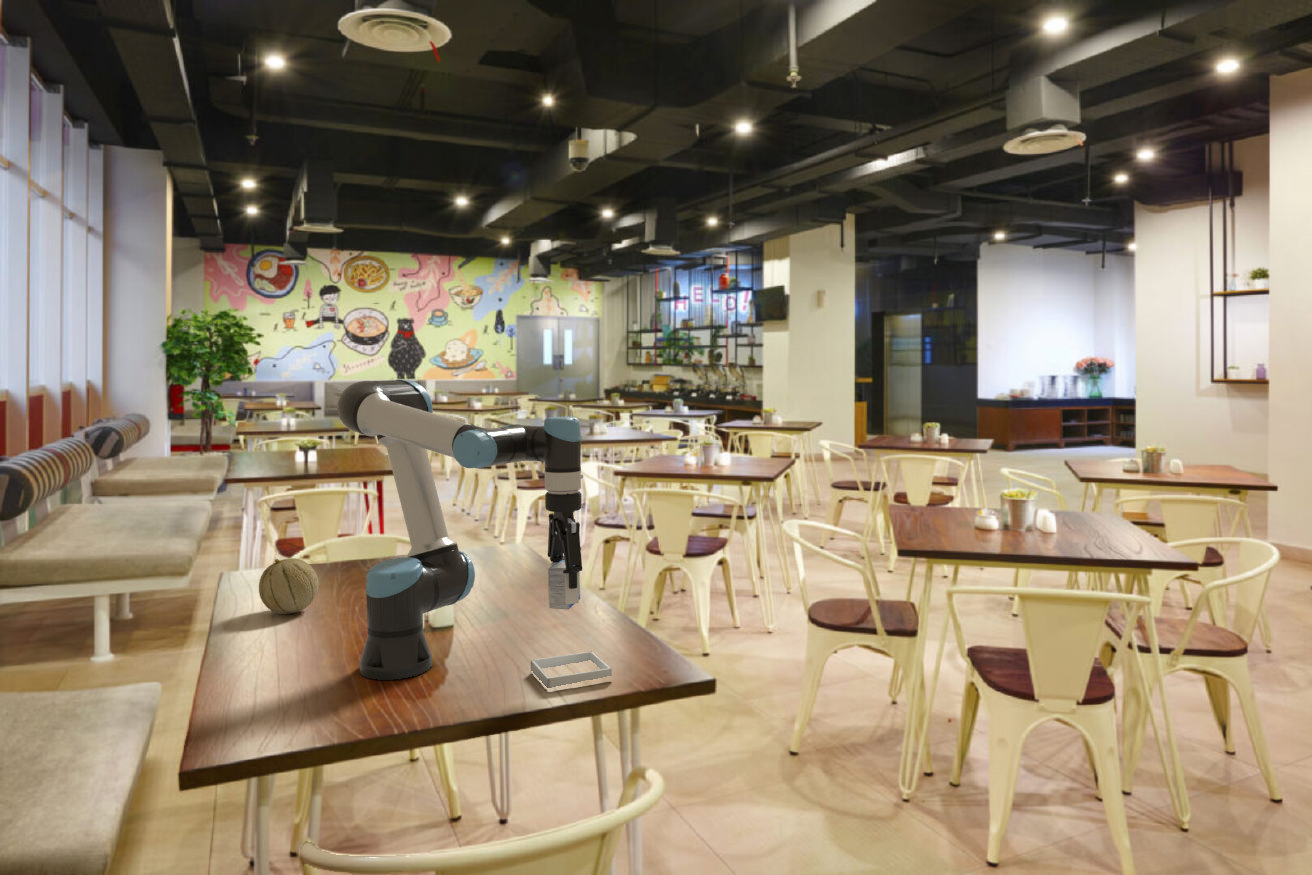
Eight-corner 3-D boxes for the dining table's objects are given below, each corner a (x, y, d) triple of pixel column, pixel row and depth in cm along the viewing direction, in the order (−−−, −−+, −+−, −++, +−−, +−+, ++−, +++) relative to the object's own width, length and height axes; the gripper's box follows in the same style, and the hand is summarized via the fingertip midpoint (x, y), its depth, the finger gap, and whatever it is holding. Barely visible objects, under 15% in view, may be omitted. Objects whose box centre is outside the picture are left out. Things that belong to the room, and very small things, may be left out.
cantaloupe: (331, 609, 232) (329, 555, 230) (283, 624, 219) (281, 566, 218) (295, 601, 239) (293, 549, 238) (247, 615, 227) (245, 559, 225)
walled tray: (547, 692, 174) (547, 678, 174) (530, 673, 185) (530, 659, 185) (611, 682, 180) (611, 668, 180) (591, 664, 191) (591, 651, 191)
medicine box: (568, 610, 176) (568, 568, 175) (548, 608, 177) (547, 567, 176) (580, 599, 184) (580, 560, 183) (560, 598, 184) (560, 559, 184)
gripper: (597, 497, 170) (598, 608, 172) (564, 483, 190) (566, 584, 191) (561, 499, 167) (563, 613, 169) (531, 485, 187) (533, 587, 188)
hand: (564, 597), depth 180 cm, fingers closed on medicine box, 9 cm apart
